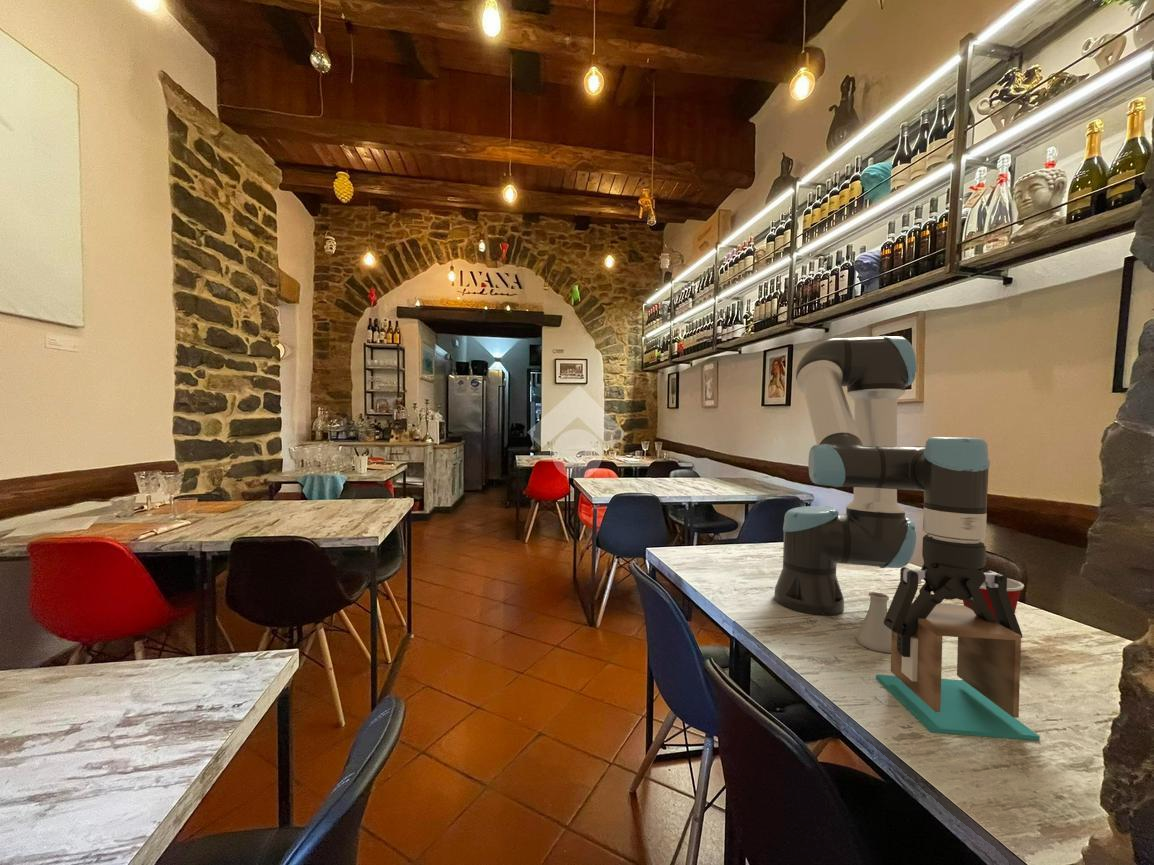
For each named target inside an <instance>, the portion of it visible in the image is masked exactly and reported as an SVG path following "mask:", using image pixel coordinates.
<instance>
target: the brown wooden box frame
mask: <svg viewBox="0 0 1154 865" xmlns="http://www.w3.org/2000/svg"><path fill="white" fill-rule="evenodd" d="M911 605H912V604H911ZM913 636H914V637H916V638H917V639H918V665H917V682H915V681H911V680H910V679H909V678H908V677H907V676H905V675H904V674H903V673H902V672H901V667H902V655H901V654H899V653H898V651H897V633H895V632H893V631H892V638H891V653H890V672H891V673H892V674H893V676H896V677H898V678H899V679H900V680H901V681H902V682H903V683H904V684H905V685H906V686H907V687H909V688H910V689H911V690H912V691H913V692H914V693H915V694H916V695H917V696H918V697H919V698H921V699H922V700H923V701H924V702H925V703H926V704H927V705H928V706H929V707H930V708H932V709H933V710H934V711H935V712H940V707H941V679H942V670H943V669H942V664H943V663H942V662H943V637H951V638H952V637H954V638H955V637H956V638H957V652H956V653H957V657H956V658H957V659H956V660H957V661H956V662H957V664H956V676H957V677H958V678H960V680H964V681H965V682H966V683H968V684H969V685H970V686H972V687H973V688H974V689H976V690H977V691H978V692H980V693H981V694H982V695H984V696H985V697H986V698H988V699H989V700H990V701H992V702H993V703H995V704H996V705H997V706H999V707H1000V708H1001V709H1003V710H1004V711H1005V712H1007V713H1008V714H1009V715H1011V716H1012V717H1014V718H1016V719H1020V718H1019V716H1020V715H1019V714H1020V713H1019V712H1020V688H1021V687H1020V686H1021V684H1020V683H1021V655H1022V653H1021V652H1022V651H1021V650H1022V638H1021V635H1019V634H1017V633H1015V632H1013V631H1012V630H1010V629H1008V628H1006V627H1004V626H1002V625H1000V624H998V623H996V622H987V621H985V620H984V619H982V618H980V617H978V616H976V614H975V613H974V611H973V610H972V609H970V608H968V607H966V606H964V604H963V605H962V604H945V603H940V604H937V605H936V606H935V607H934V608H933V610H932V611H931V612H930V614H929V615H928V616H927V618H926V619H921V618H918V629H917V631H916V632H915V633H914V635H913Z"/></svg>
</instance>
